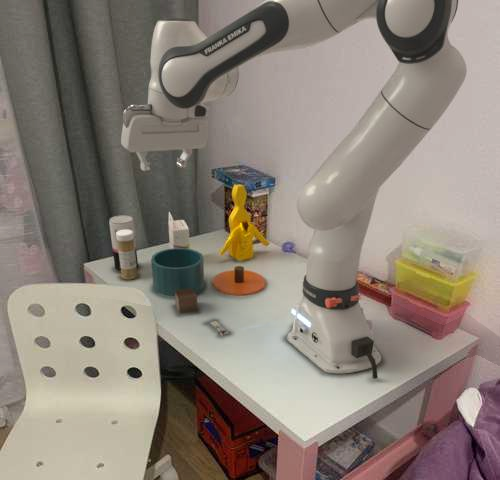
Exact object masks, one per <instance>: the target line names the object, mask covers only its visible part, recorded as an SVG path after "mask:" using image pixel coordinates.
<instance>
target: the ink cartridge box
mask: <svg viewBox="0 0 500 480" xmlns="http://www.w3.org/2000/svg"><path fill="white" fill-rule="evenodd" d="M168 237H169V238H168V239H169V249H172V248H186V249H191V247H190V228H189V226H188V225H187V223H186V221H185V219H177V220H174V218H173V216H172V214H171V212H170V211H168Z"/></svg>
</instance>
